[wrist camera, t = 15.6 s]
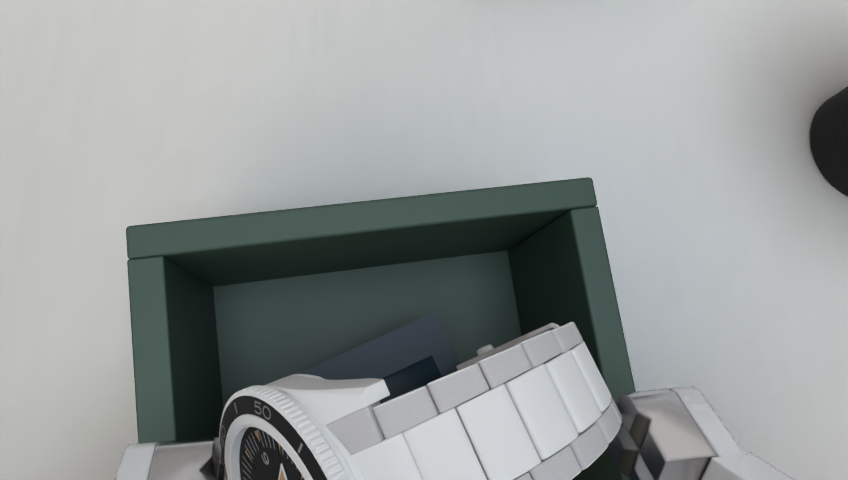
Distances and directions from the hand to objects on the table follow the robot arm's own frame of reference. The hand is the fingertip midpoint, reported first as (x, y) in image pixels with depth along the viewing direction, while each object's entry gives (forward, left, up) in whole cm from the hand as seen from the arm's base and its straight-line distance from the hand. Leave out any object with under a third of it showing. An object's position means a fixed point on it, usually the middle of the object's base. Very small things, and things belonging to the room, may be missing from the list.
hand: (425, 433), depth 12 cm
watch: (-1, 0, -9) cm, 9 cm away
